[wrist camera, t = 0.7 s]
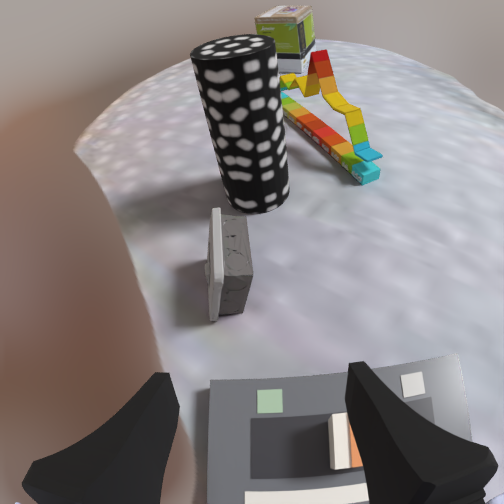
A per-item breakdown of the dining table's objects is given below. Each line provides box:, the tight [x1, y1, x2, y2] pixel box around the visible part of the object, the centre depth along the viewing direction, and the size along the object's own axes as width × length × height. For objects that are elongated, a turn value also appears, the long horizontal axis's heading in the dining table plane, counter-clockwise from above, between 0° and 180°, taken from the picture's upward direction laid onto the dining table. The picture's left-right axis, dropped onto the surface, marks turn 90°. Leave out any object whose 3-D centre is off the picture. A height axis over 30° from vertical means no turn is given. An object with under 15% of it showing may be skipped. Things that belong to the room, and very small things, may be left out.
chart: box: [279, 50, 383, 185], centre depth 44 cm, size 30×3×15 cm, turn 24°
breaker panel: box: [207, 353, 472, 504], centre depth 22 cm, size 12×22×3 cm, turn 90°
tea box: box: [255, 6, 316, 73], centre depth 65 cm, size 15×10×15 cm, turn 158°
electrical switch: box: [205, 208, 253, 321], centre depth 31 cm, size 8×5×8 cm, turn 6°
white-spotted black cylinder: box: [190, 34, 289, 214], centre depth 35 cm, size 8×8×20 cm
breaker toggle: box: [328, 413, 363, 470], centre depth 19 cm, size 4×3×4 cm
